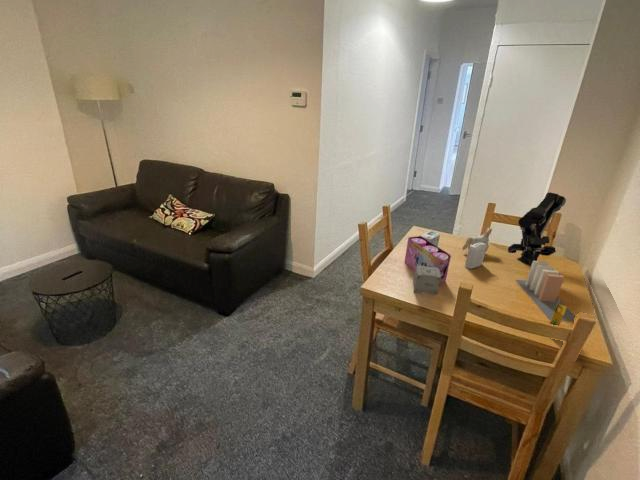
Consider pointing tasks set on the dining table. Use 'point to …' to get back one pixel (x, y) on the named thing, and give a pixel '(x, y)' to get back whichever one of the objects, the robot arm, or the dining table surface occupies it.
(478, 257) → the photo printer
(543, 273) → the domino
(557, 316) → the crayon box
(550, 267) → the domino
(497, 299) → the dining table surface
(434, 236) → the light bulb box
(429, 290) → the grey cardboard box
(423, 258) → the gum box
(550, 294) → the domino
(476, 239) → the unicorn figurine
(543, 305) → the mat
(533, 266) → the domino
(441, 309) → the dining table surface
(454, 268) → the dining table surface
